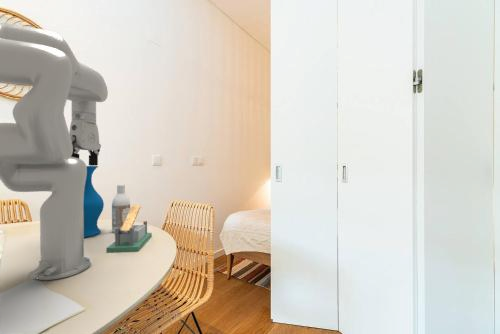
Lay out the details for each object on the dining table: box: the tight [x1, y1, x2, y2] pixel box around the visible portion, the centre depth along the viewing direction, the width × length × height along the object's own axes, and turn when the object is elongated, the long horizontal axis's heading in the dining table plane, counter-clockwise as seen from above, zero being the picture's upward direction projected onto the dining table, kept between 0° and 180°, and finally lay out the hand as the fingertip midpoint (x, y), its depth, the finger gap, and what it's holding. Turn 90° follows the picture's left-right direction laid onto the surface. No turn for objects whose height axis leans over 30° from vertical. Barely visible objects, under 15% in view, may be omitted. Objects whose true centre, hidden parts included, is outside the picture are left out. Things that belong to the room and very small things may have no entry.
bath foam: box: [111, 184, 131, 234], centre depth 104 cm, size 7×7×20 cm
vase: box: [83, 165, 105, 238], centre depth 98 cm, size 12×13×28 cm
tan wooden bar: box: [119, 204, 142, 234], centre depth 88 cm, size 14×3×1 cm, turn 7°
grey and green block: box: [106, 220, 153, 253], centre depth 88 cm, size 16×10×8 cm, turn 7°
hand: (84, 165), depth 89 cm, fingers open, 9 cm apart
